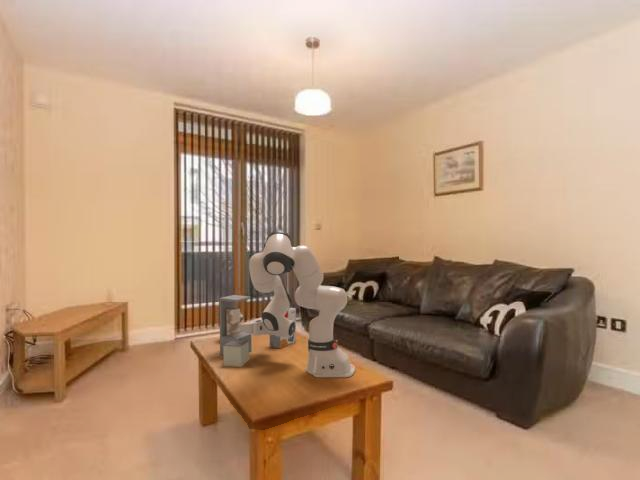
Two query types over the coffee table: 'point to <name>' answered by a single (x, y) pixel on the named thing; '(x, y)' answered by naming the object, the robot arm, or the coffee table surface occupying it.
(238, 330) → the block
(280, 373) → the coffee table surface
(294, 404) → the coffee table surface
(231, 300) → the grey podium
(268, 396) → the coffee table surface
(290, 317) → the hard drive box
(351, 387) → the coffee table surface
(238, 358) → the stand
